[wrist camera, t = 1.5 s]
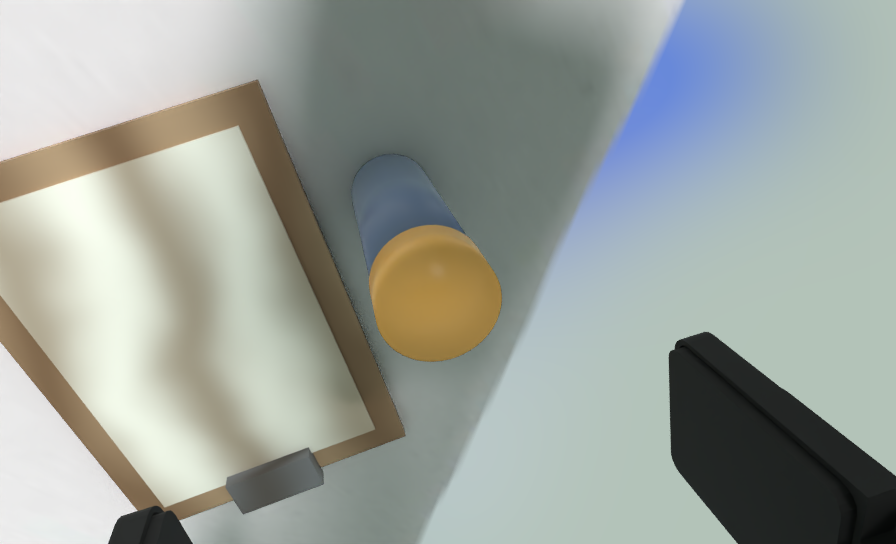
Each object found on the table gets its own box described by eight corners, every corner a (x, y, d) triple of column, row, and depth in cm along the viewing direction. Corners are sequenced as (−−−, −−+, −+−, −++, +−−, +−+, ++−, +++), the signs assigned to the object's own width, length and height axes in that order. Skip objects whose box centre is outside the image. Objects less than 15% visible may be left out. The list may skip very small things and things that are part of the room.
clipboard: (257, 79, 25) (254, 85, 24) (406, 433, 36) (410, 451, 35) (-106, 195, 24) (-131, 208, 23) (159, 525, 35) (152, 548, 34)
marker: (418, 140, 28) (485, 229, 18) (441, 216, 30) (513, 336, 20) (337, 167, 28) (356, 274, 17) (365, 242, 30) (397, 378, 19)
